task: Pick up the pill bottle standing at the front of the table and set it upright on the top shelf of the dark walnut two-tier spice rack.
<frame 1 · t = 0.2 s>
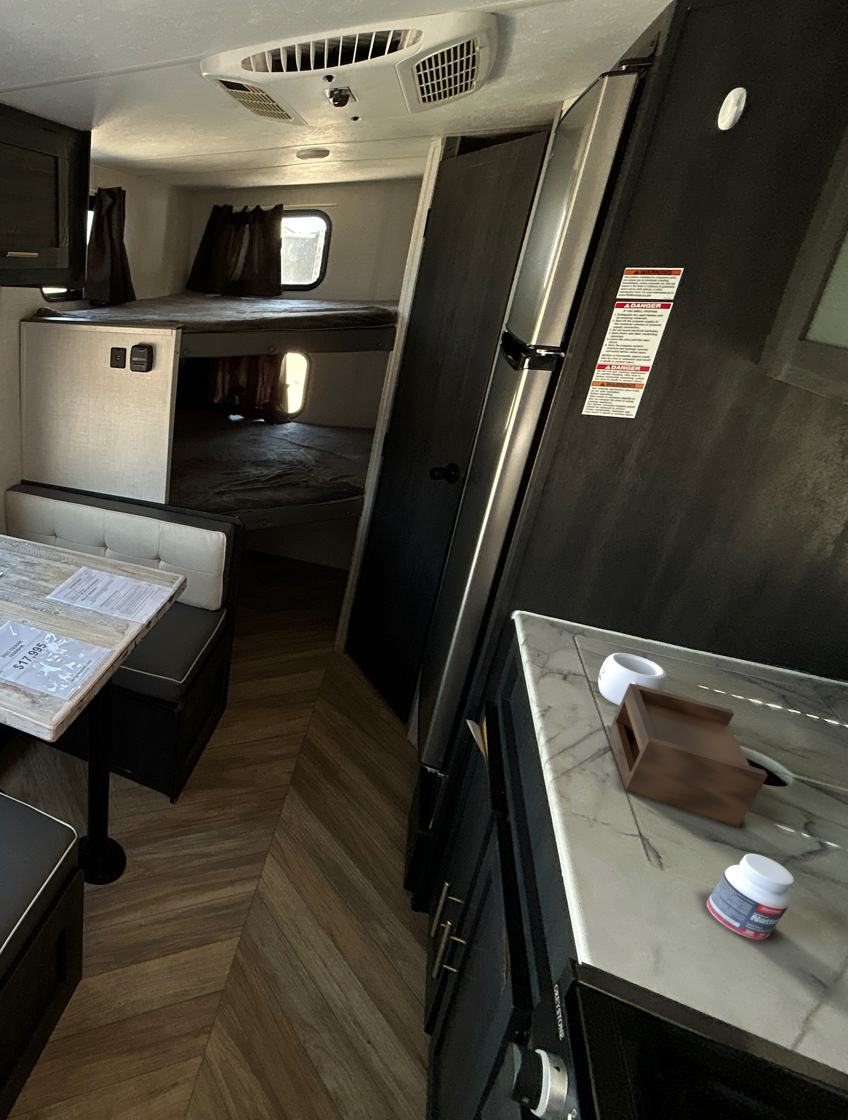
pill bottle: (734, 922, 75), on the counter
spice rack: (666, 776, 96), on the counter
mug: (621, 706, 112), on the counter
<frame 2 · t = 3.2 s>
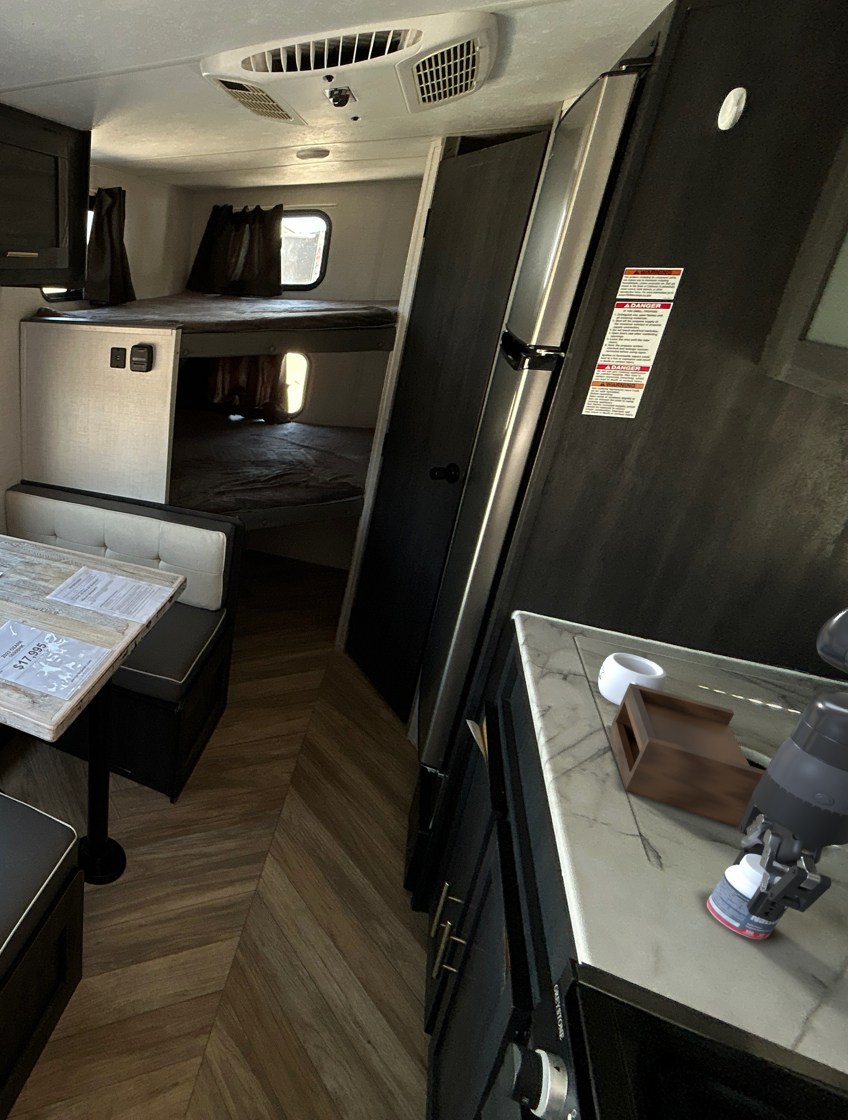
hand: (751, 894, 74), 4 cm above the counter, tool pointing down, fingers closed on pill bottle, 5 cm apart
pill bottle: (734, 922, 75), on the counter, touching gripper
everything else where it was.
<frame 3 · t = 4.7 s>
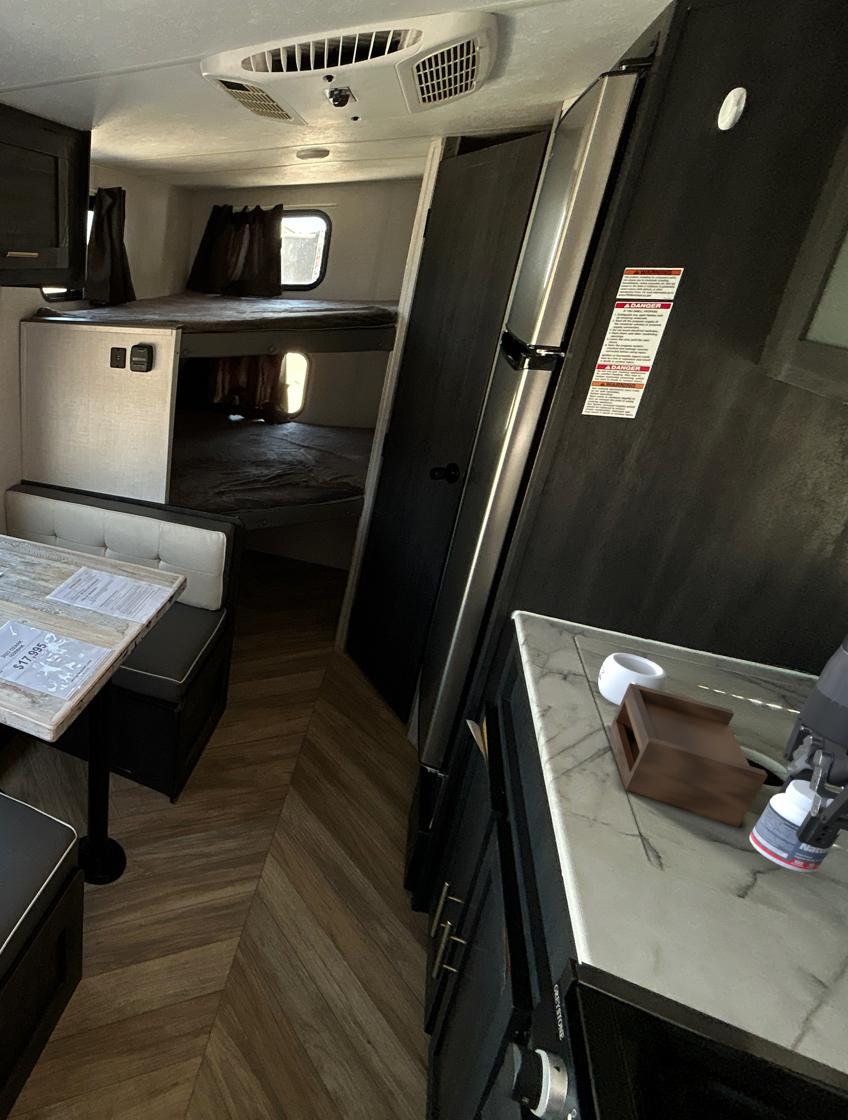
hand: (799, 823, 69), 16 cm above the counter, tool pointing down, fingers closed on pill bottle, 5 cm apart
pill bottle: (781, 854, 71), point 11 cm above the counter, touching gripper
everything else where it was.
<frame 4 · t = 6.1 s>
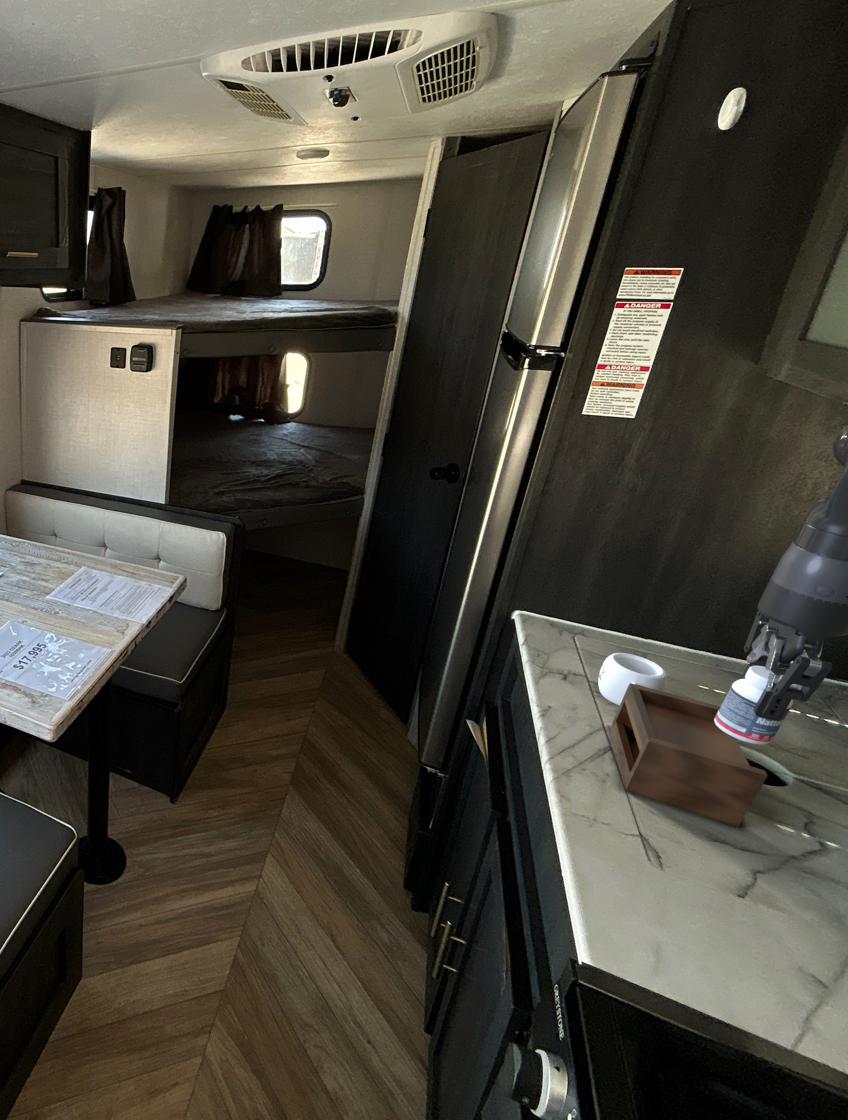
hand: (756, 703, 80), 21 cm above the counter, tool pointing down, fingers closed on pill bottle, 5 cm apart
pill bottle: (741, 732, 81), point 17 cm above the counter, touching gripper
everything else where it was.
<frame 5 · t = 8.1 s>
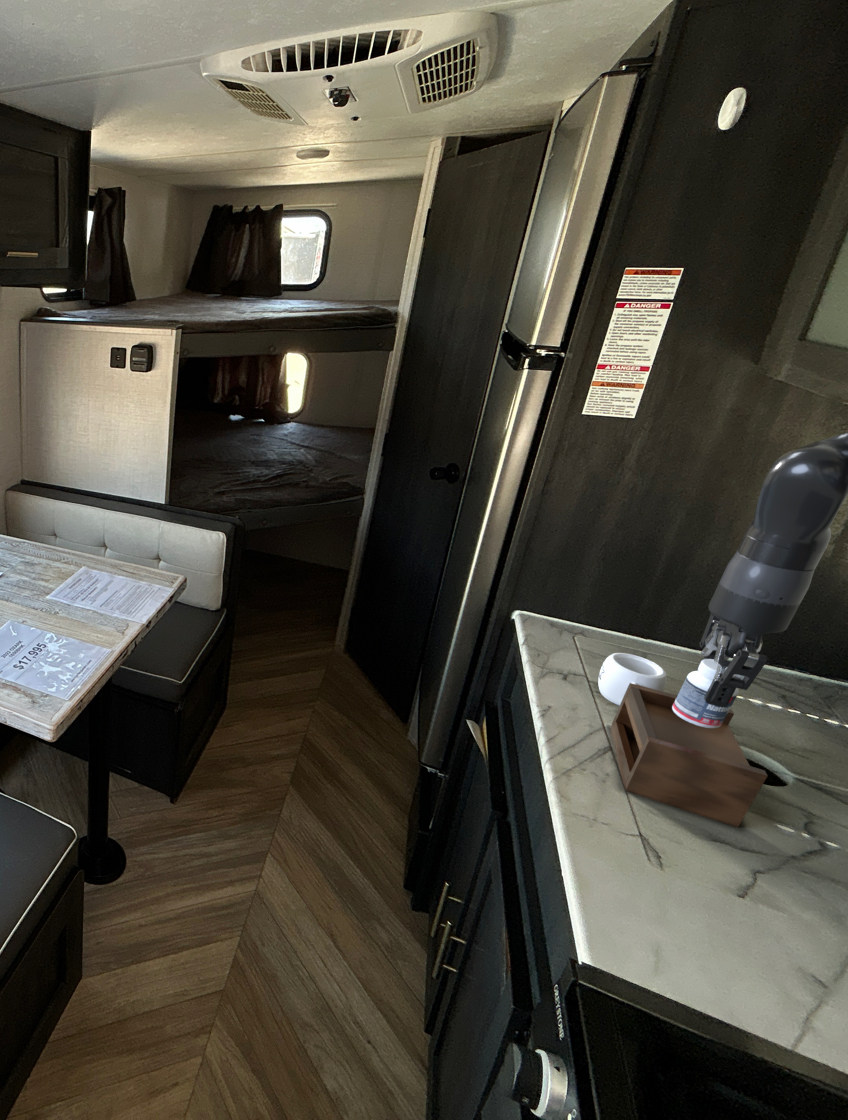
hand: (708, 692, 90), 16 cm above the counter, tool pointing down, fingers closed on pill bottle, 5 cm apart
pill bottle: (695, 718, 92), point 11 cm above the counter, touching gripper
everything else where it was.
when the fingers open (12 cm above the counter, at t = 9.5 s): pill bottle stays where it is, resting on spice rack.
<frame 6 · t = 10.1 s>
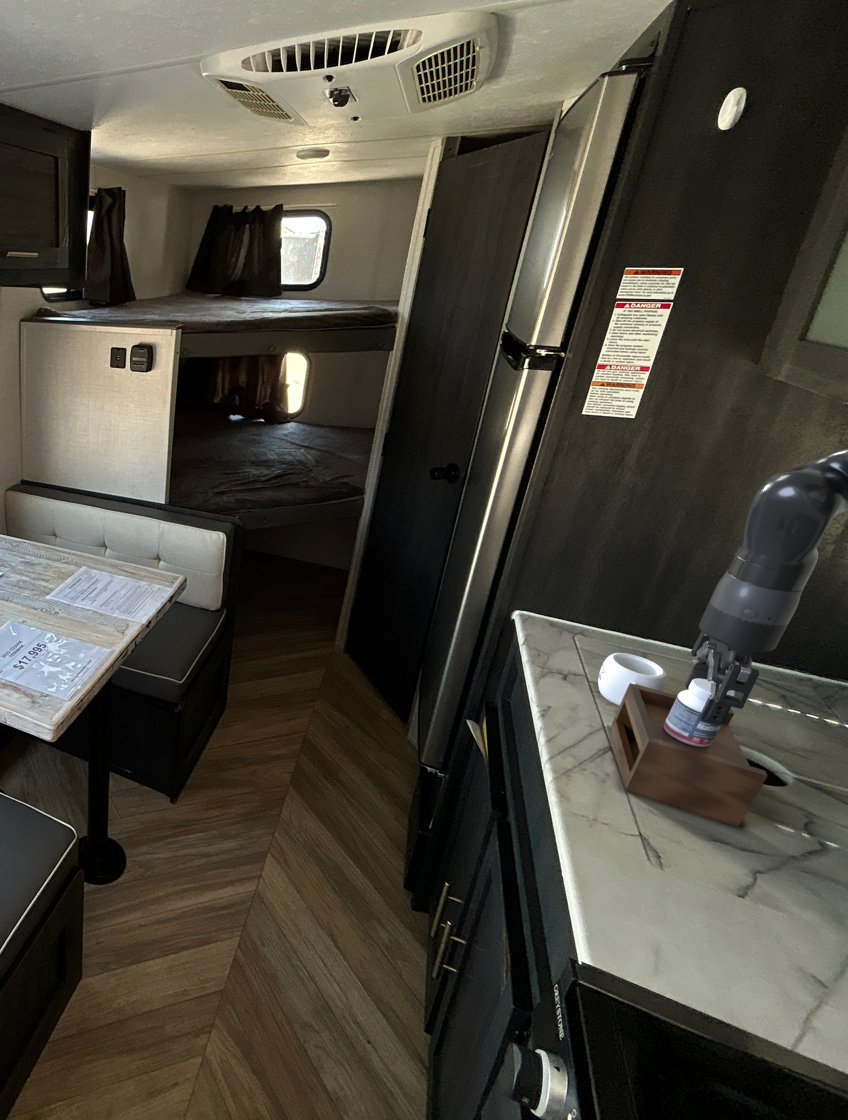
hand: (701, 705, 91), 14 cm above the counter, tool pointing down, fingers open, 8 cm apart
pill bottle: (685, 736, 93), point 8 cm above the counter, touching spice rack
everything else where it was.
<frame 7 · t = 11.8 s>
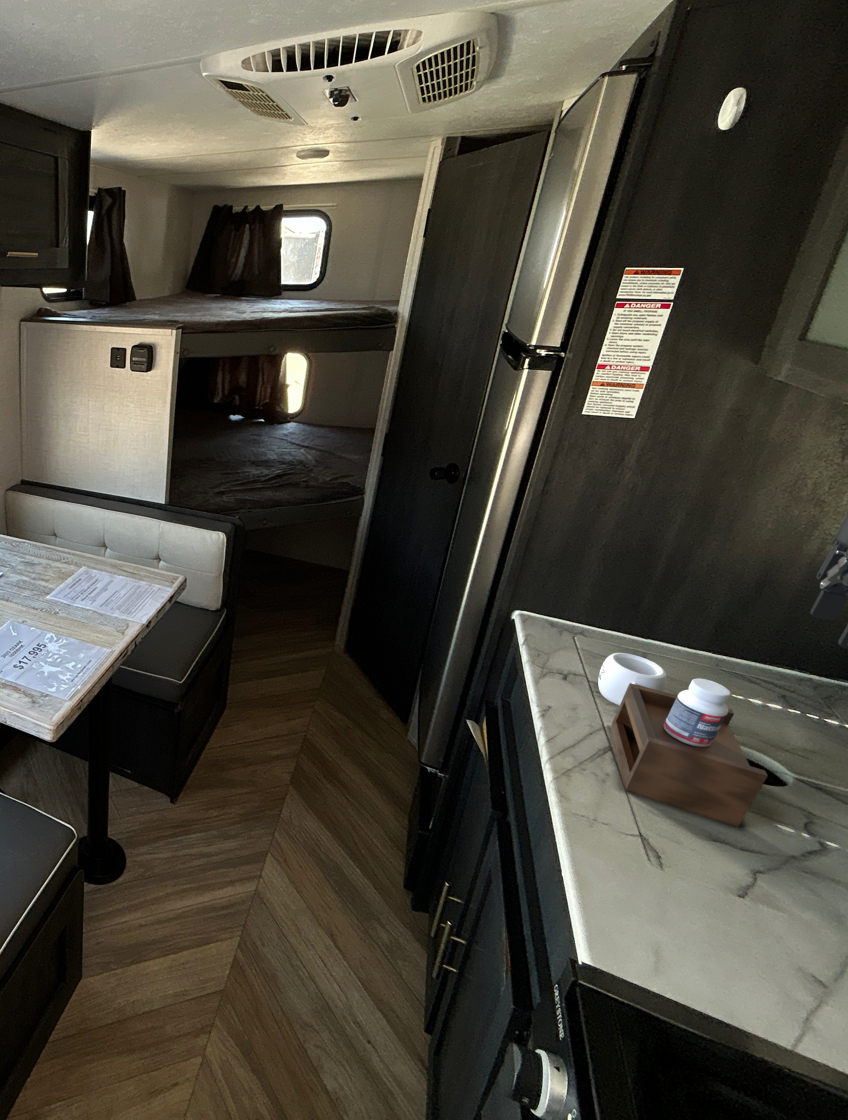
hand: (835, 632, 79), 30 cm above the counter, tool pointing down, fingers open, 8 cm apart
nothing on the counter moved.
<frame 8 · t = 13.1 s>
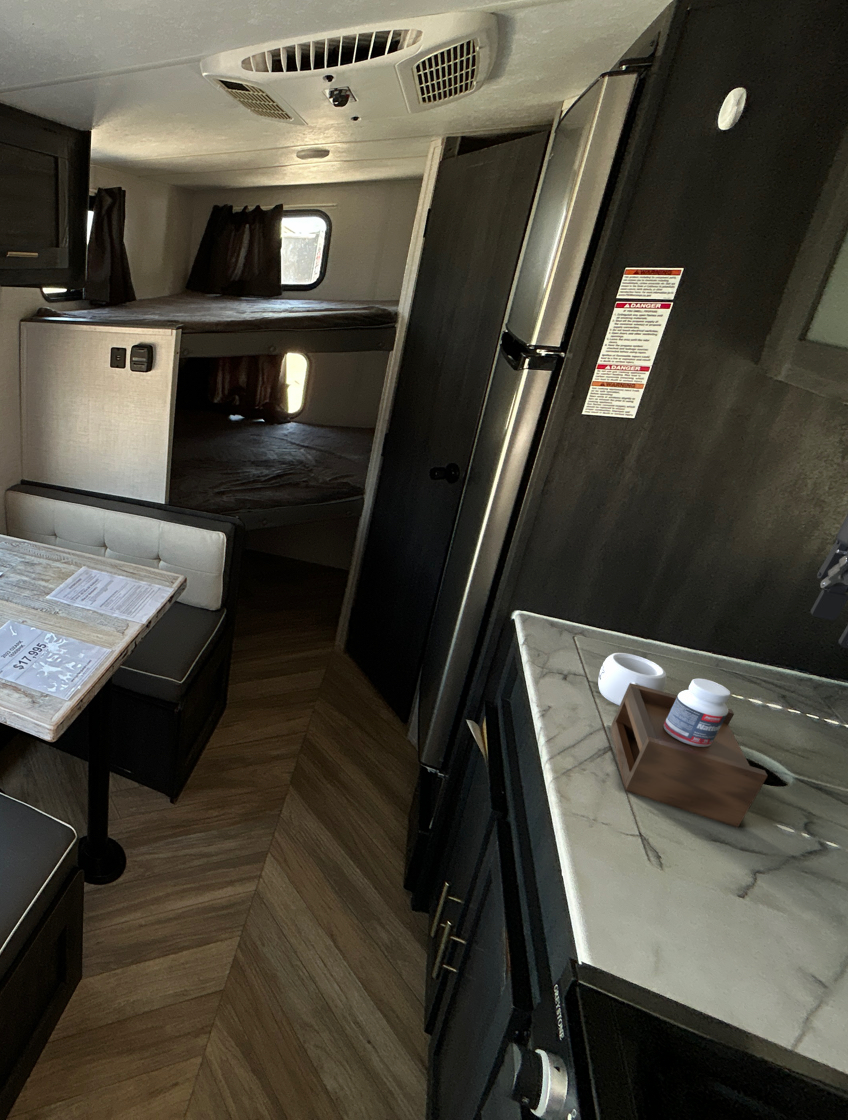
hand: (835, 632, 79), 30 cm above the counter, tool pointing down, fingers open, 8 cm apart
nothing on the counter moved.
at the end: pill bottle inside the target area on the spice rack (0.1 cm from its centre), point 7.8 cm above the spice rack's base; pill bottle tilted 0° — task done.
